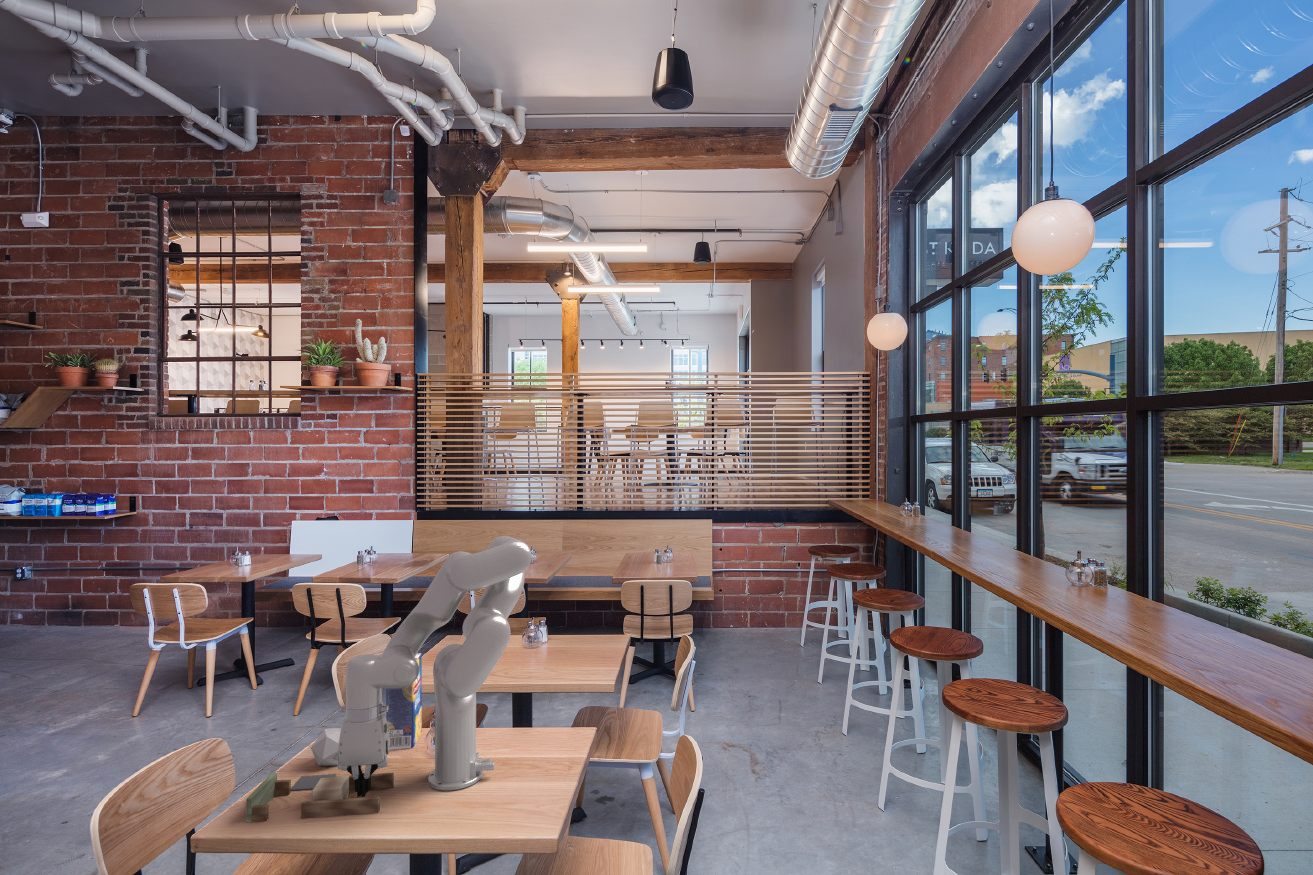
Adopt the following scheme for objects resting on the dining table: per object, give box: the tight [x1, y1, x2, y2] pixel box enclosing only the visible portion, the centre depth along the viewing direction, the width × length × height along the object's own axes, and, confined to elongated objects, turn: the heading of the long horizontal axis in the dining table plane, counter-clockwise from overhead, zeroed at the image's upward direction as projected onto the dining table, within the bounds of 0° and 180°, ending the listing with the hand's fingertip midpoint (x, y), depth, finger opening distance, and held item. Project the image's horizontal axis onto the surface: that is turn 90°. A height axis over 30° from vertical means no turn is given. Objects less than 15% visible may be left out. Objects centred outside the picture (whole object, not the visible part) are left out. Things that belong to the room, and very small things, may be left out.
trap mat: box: [291, 773, 337, 792], centre depth 156 cm, size 8×7×1 cm
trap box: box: [245, 771, 395, 823], centre depth 147 cm, size 27×12×5 cm, turn 97°
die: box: [310, 728, 341, 767], centre depth 167 cm, size 8×9×10 cm
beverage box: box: [385, 652, 423, 751], centre depth 180 cm, size 7×11×22 cm, turn 8°
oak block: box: [311, 775, 350, 801], centre depth 147 cm, size 6×6×4 cm
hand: (362, 793), depth 148 cm, fingers closed
